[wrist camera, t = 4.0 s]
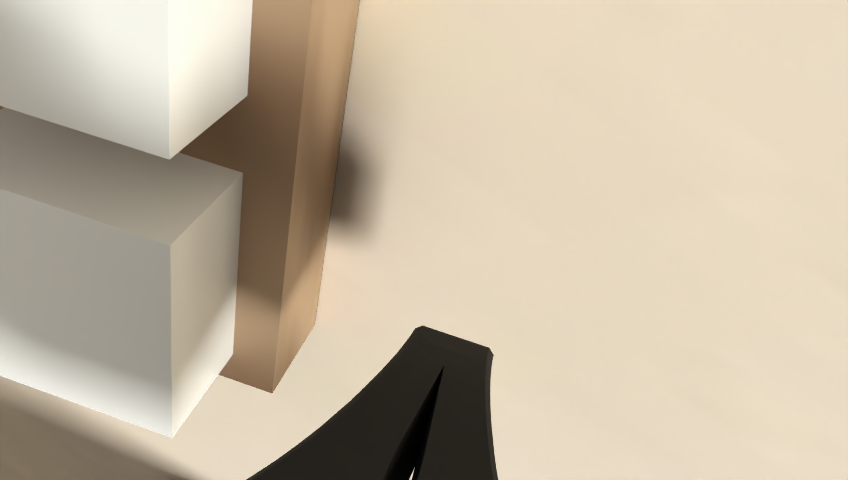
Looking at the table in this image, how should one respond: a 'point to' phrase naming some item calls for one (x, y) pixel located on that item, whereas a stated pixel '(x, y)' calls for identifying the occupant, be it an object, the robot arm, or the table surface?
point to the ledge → (283, 175)
